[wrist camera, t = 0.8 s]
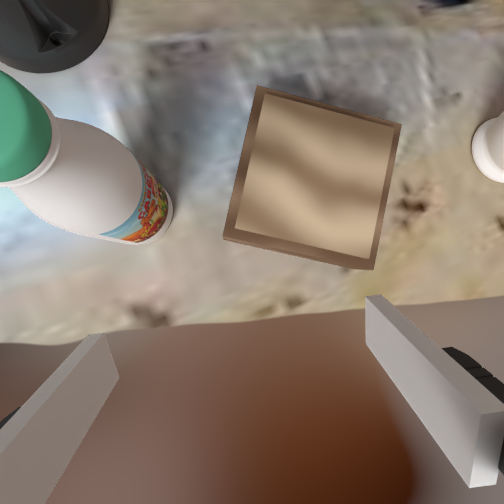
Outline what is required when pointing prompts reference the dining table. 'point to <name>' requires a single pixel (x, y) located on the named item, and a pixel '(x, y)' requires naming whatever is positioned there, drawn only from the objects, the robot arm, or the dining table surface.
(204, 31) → the dining table surface
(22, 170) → the milk bottle
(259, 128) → the walnut stand
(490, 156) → the jar
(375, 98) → the dining table surface
